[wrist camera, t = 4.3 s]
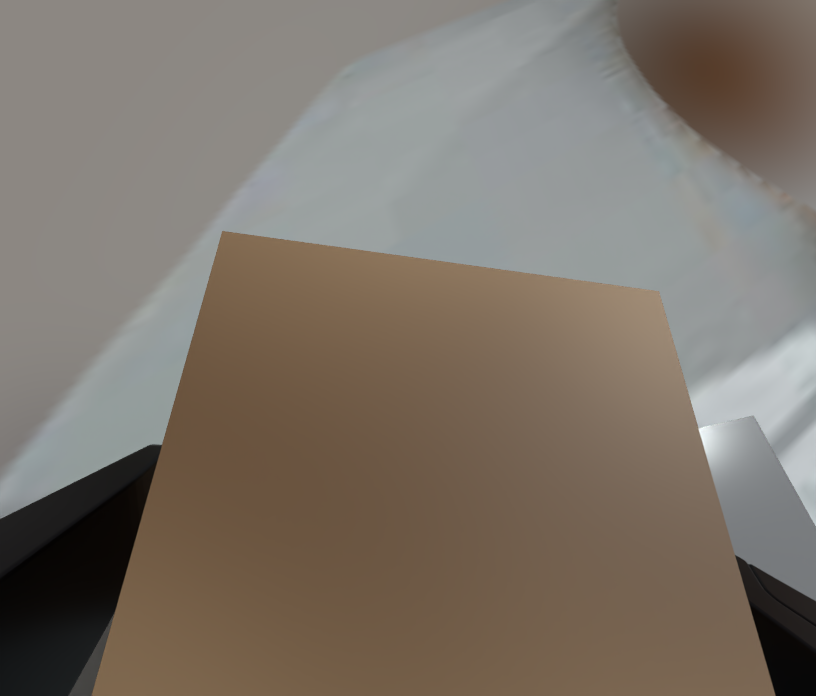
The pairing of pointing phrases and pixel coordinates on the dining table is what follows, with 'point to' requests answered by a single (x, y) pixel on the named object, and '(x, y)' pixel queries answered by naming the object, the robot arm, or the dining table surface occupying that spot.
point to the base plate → (761, 504)
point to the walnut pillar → (428, 494)
